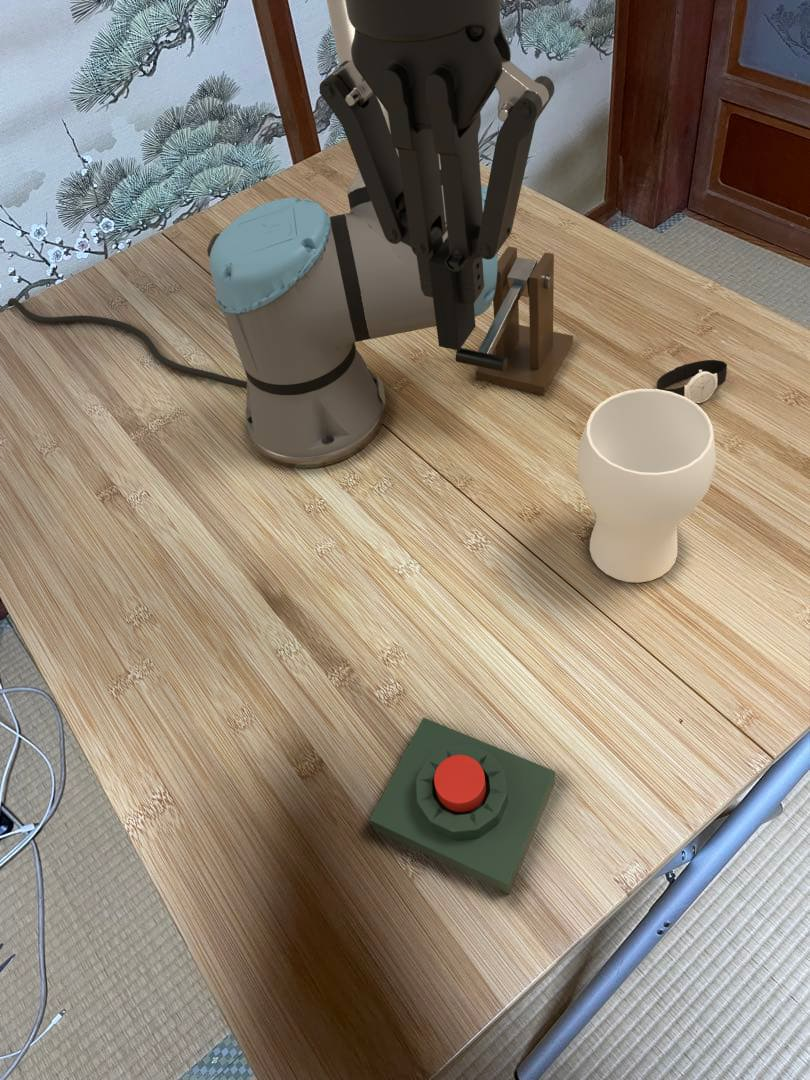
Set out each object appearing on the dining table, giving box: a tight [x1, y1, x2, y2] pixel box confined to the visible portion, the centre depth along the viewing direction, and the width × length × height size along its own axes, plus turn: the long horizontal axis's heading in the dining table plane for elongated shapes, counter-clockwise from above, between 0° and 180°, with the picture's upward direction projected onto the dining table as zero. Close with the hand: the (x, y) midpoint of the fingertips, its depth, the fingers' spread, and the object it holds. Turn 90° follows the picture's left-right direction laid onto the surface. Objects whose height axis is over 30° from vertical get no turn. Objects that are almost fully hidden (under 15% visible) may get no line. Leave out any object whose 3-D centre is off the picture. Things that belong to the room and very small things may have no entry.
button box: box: [369, 717, 556, 895], centre depth 62 cm, size 11×9×4 cm
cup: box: [576, 388, 717, 584], centre depth 70 cm, size 11×11×15 cm
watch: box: [656, 359, 728, 404], centre depth 86 cm, size 8×5×4 cm, turn 112°
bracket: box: [475, 246, 574, 396], centre depth 89 cm, size 9×8×13 cm
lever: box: [454, 256, 538, 372], centre depth 83 cm, size 13×5×2 cm, turn 153°
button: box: [434, 755, 486, 812], centre depth 60 cm, size 4×4×2 cm
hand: (457, 336), depth 56 cm, fingers closed
